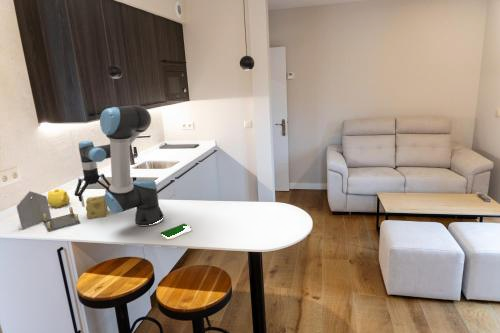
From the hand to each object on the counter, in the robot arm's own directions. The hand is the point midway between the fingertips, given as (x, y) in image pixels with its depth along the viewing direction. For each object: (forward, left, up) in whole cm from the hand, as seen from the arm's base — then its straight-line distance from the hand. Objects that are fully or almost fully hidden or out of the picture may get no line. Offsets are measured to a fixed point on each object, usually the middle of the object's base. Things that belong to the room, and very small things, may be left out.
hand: (96, 203), depth 199 cm
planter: (+14, +31, -7) cm, 35 cm away
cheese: (0, 0, -7) cm, 7 cm away
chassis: (+2, +19, -7) cm, 20 cm away
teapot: (+34, +14, -7) cm, 38 cm away
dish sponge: (-56, -23, -8) cm, 61 cm away
